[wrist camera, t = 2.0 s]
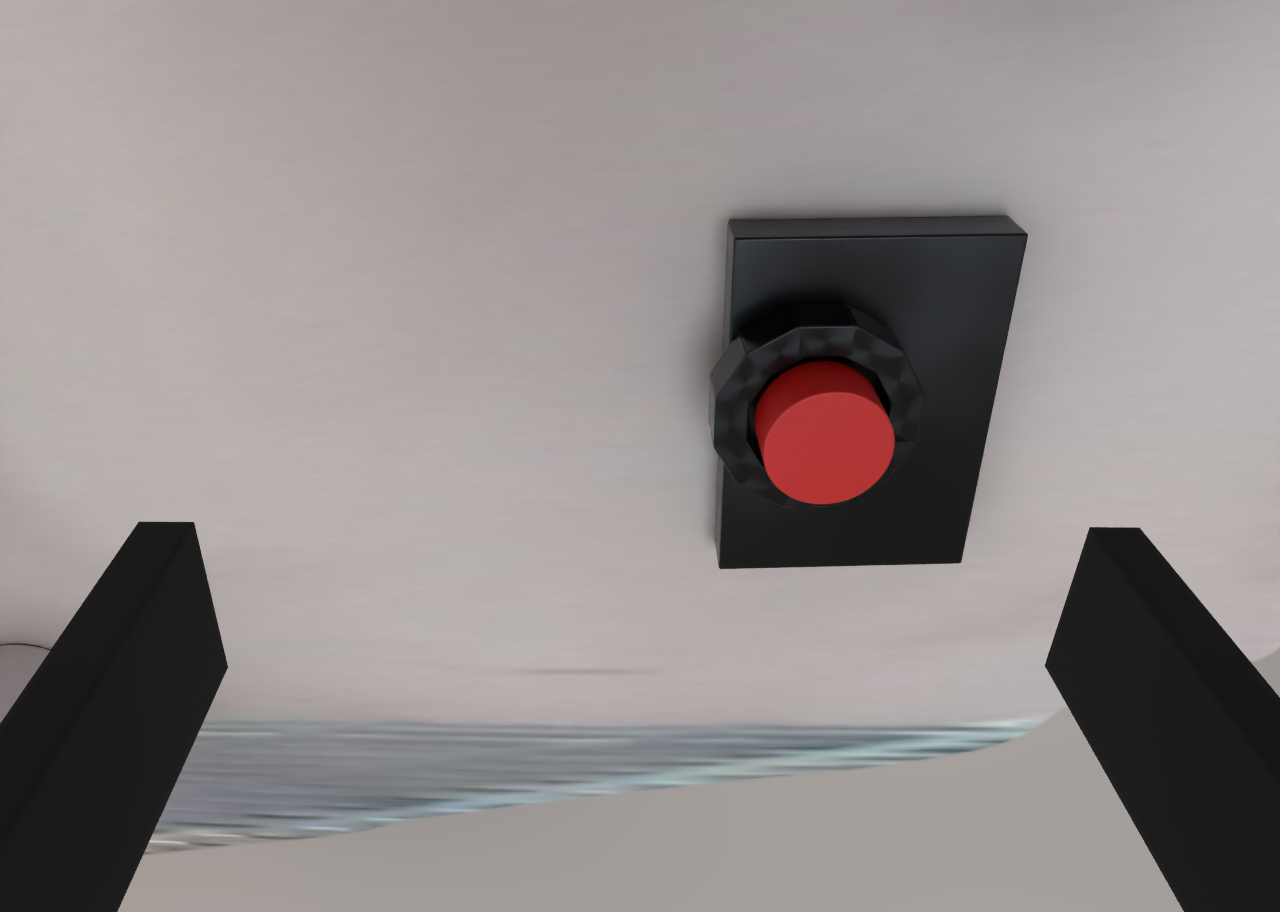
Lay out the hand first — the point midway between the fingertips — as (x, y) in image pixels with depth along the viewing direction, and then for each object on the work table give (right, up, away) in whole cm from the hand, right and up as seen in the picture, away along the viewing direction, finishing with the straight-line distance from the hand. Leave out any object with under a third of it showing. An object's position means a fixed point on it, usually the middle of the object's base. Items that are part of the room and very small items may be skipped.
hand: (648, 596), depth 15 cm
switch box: (+8, +5, +24) cm, 25 cm away
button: (+6, +4, +20) cm, 21 cm away
